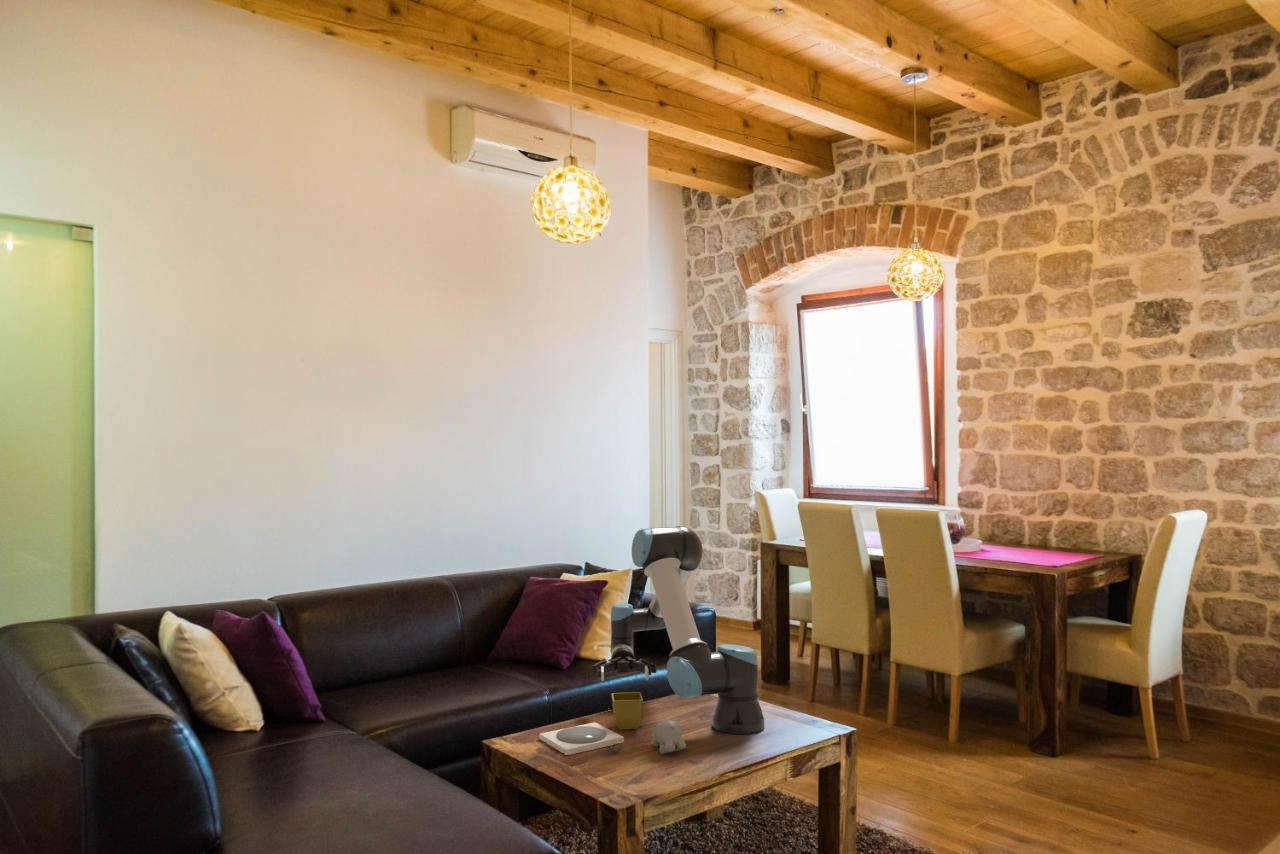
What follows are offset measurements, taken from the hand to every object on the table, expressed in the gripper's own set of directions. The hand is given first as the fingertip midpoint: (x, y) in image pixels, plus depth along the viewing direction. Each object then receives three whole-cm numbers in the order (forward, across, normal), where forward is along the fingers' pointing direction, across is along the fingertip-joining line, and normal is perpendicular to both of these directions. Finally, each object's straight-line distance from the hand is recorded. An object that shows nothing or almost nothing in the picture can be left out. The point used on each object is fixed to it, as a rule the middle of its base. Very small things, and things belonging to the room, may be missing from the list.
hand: (624, 676), depth 271 cm
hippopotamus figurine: (+31, -10, -12) cm, 35 cm away
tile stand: (+22, +13, -12) cm, 28 cm away
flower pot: (+10, 0, -12) cm, 16 cm away
